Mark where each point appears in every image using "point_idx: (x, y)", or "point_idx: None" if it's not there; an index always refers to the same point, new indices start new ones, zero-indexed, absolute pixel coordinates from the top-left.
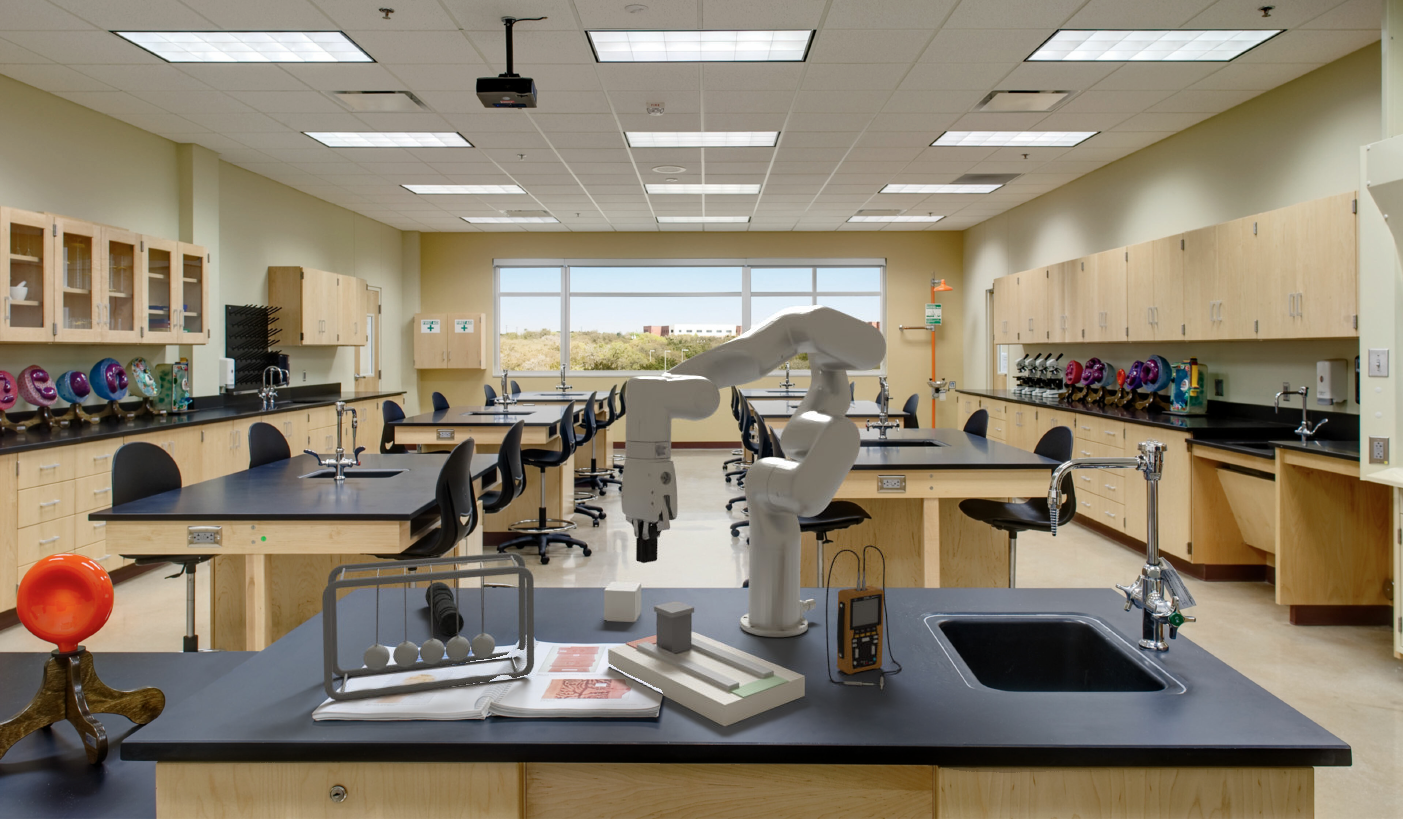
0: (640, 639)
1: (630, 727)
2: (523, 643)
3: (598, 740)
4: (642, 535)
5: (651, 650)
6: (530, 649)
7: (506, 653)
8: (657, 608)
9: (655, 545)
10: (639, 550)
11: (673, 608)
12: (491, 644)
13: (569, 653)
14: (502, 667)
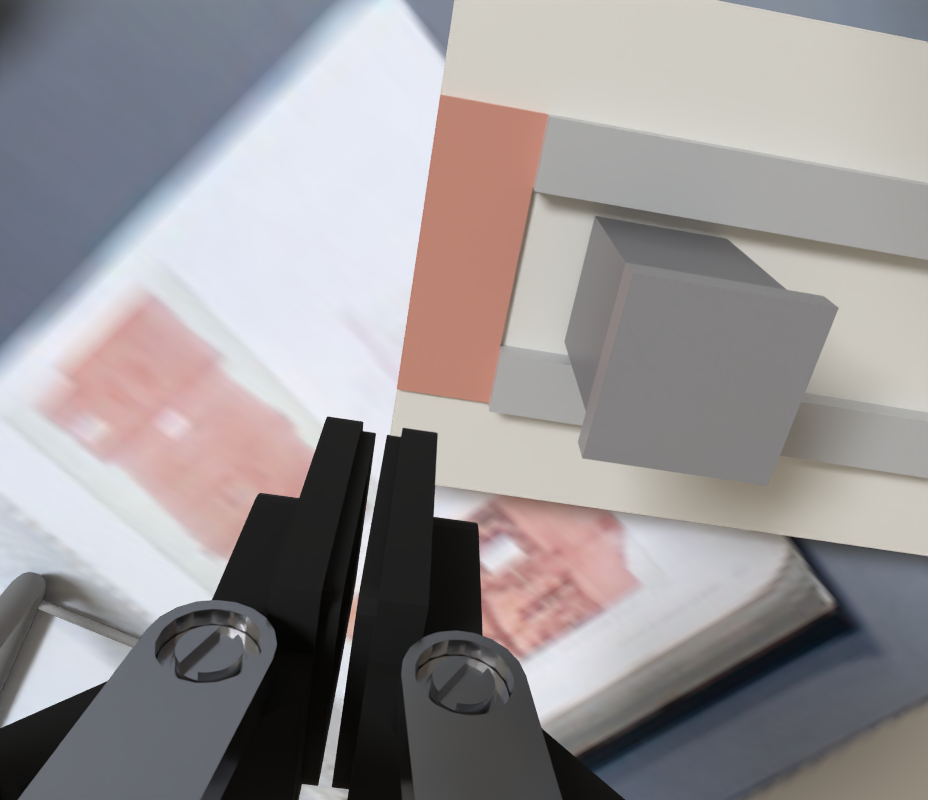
0: (415, 308)
1: (802, 691)
2: (30, 603)
3: (770, 774)
4: (294, 786)
5: None
6: None
7: (23, 624)
8: (619, 461)
9: (480, 612)
10: (338, 674)
11: (721, 414)
12: None
13: (138, 432)
14: (108, 657)
